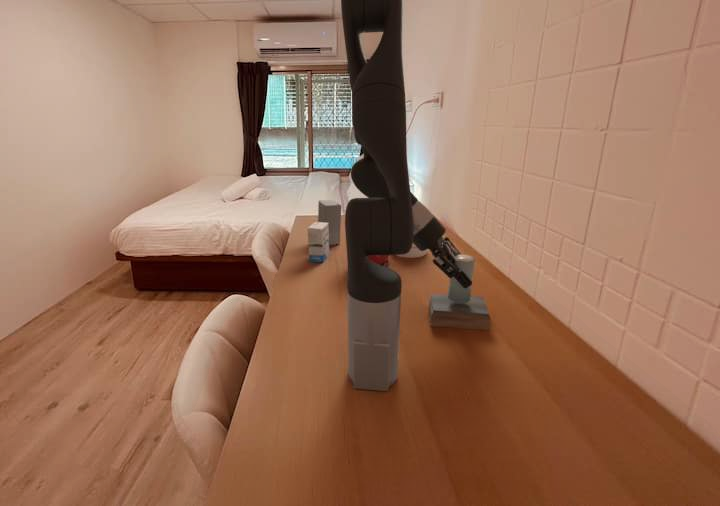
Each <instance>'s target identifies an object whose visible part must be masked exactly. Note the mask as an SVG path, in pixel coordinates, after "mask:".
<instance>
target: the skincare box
mask: <svg viewBox="0 0 720 506" xmlns="http://www.w3.org/2000/svg"><path fill="white" fill-rule="evenodd" d="M317 209H318V210H317V211H318V215H317V218H318V220H317V222H324V223H328V229H329V247H330V246H337V245H336V244H339V245H340V244H341V225H342V221H341V220H342V205H341V204H340V203H339V202H338V201H336V200H334V199H323V200H322V199H321V200H318V208H317Z"/></svg>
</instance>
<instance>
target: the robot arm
mask: <svg viewBox="0 0 720 506" xmlns="http://www.w3.org/2000/svg"><path fill="white" fill-rule="evenodd" d="M340 3H341V4H340V6H341V7H340V9H341V18H342V29H343V30H342V31H343V37H344V44H345V51H346V62H347V66H348V67H347V68H348V74H349V81H350V85H351V86H350V87H351V123H352V127H353V128H352V129H353V132H354V138H355V139H354V140H355V141H356V143H357V144H358V145H360V146H362V151H363V158H360V159H359V160H357V161H356V162H355V163H353V164H352V166H351V169H350V179H351V180H352V183H353V184H354V186H355V187H356V189H357V190H358V191H359V192H360V193H362V194H363V195H364V196H365V197H356V198H355V197H354V198H351V199H350V200H349V201H348V203H347V204H346V208H345V211H344V212H345V213H344V226H345V227H344V229H345V230H344V231H345V243H346V259H347V357H348V367H347V368H348V377H349V380H350V381H351V382H352V388H353V389H356V390H357V389H358V390H368V391H377V392H379V391H380V392H389V388H390V387H391V386H392V385H393V384H394V383H395V382H396V381H397V379H398V374H399V373H398V371H399V355H400V353H399V352H400V351H399V350H400V349H399V348H400V347H399V346H400V329H401V326H400V325H401V305H402V286H403V285H402V283H403V282H402V277H401V275H400V274H399V273H398V271H395V270H394V269H392V268H390V267H385V266H382V265H379V264H377V263H374V262H373V261H371V260H370V259H368V258H367V257H366V256H367V255H389V256H396V255H402V254H407V253H408V252H409V251H410V250H411V247H412V244H413V243H414V245H415V246H416V247H417V248H418V249H419V250H420V251H425V250H426V249H427V250H429V251H430V252H431V256H432V257H433V258H434V259H432V260H431V261H432V262H433V264H434V265H435V266H436V267H437V268H438V269H440V271H442V273H444V274H445V276H447V277H448V278H449V279H450V278H452V277H455V279H456V280H457V281H458V282H459V283H460V284H461V285H462V286H463V288H468V287H469V286H471V285H472V286H473V280H472V281H471V280H470V278H469V277H468V276H467V275H466V274H465V273H464V272H463V271H462V270H461V268H460V267H459V265H458V264H457V259H456V258H455V256H454V255H458V254H462V252H460V251H459V250H458V249H457V247H456V246H455V245H454V243H453V242H452V241H451V239H450V237H448V236H446V237H445V238H443V237H444V235H445V234H446V228H445V227H444V226H443V224H442V223H441V222H440V221H439V220H438V219H437V218H436V216H435V215H434V214H433V213H432V212H431V211H430V210H429V209H428V208H427V207H426V206H425V204H423V203H422V202H420V200H419V199H418V198H417V197H416V196H415V194H413V192H412V191H411V185H410V184H411V183H410V175H409V167H408V166H409V165H408V154H407V152H408V148H407V109H406V108H407V104H406V90H405V78H404V63H403V9H404V7H403V6H404V4H403V0H340ZM364 33H382V35H381V38H380V41H379V43H378V45H377V47H376V49H375V50H374V52H373V53H372V54H371V56H370V58H369V59H368V60H367V59H366V57H365V54H364V51H363V50H364V49H363V45H362V41H361V35H362V34H364ZM451 268H452V269H453V270H451Z"/></svg>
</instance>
